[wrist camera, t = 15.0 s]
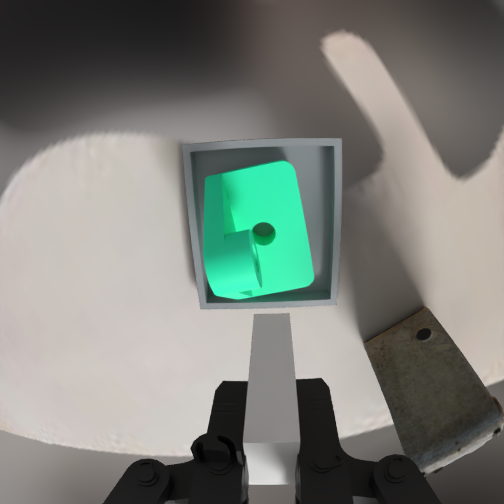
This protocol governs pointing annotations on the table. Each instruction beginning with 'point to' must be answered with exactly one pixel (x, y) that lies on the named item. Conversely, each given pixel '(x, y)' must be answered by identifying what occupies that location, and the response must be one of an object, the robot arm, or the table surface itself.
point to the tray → (315, 214)
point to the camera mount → (246, 240)
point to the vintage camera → (432, 393)
